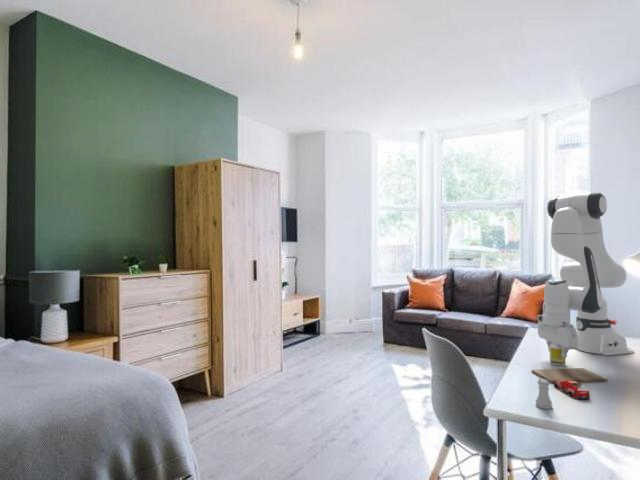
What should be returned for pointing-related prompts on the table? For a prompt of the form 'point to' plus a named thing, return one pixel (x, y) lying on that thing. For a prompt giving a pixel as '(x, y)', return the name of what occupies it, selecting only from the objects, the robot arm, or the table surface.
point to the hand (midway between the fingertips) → (557, 354)
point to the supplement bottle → (556, 354)
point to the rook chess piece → (543, 395)
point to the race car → (572, 388)
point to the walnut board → (569, 375)
